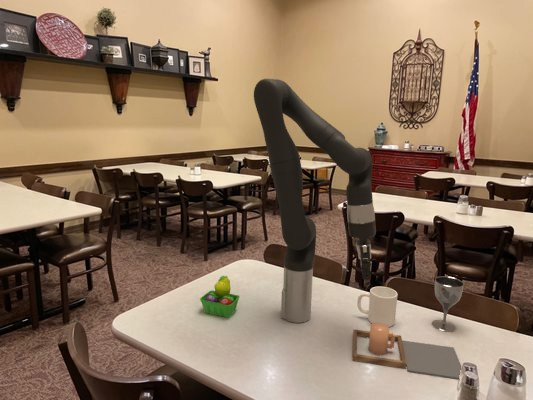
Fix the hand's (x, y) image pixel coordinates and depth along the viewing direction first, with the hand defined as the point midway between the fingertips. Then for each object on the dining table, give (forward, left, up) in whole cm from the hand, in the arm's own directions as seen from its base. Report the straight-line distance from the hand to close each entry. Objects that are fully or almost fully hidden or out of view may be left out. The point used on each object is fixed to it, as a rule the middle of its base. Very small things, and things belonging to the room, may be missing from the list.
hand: (365, 273), depth 112 cm
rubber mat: (+19, -8, -20) cm, 28 cm away
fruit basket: (-45, +3, -20) cm, 50 cm away
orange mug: (+5, -7, -20) cm, 21 cm away
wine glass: (+26, +12, -20) cm, 35 cm away
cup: (+5, +10, -20) cm, 23 cm away
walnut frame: (+5, -7, -20) cm, 21 cm away
